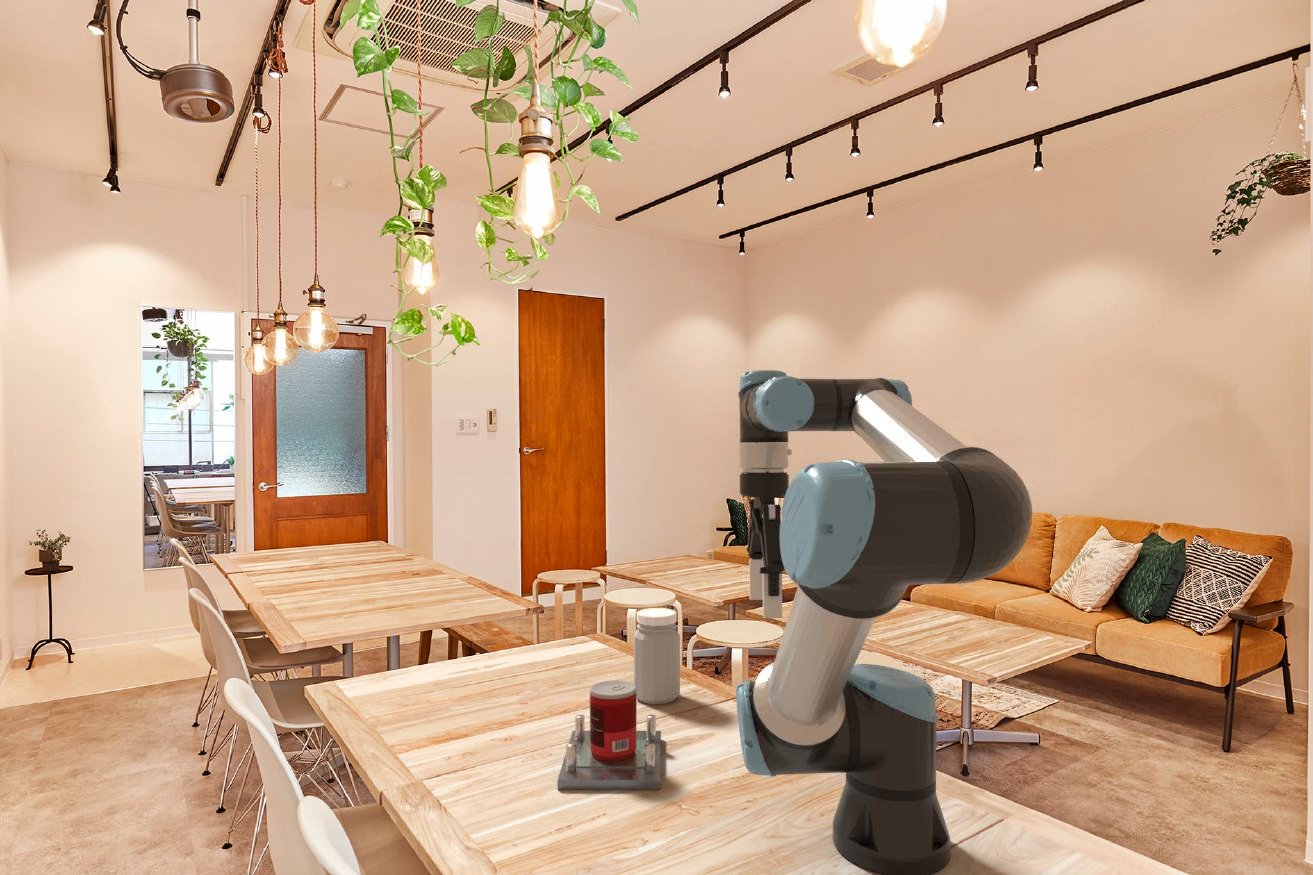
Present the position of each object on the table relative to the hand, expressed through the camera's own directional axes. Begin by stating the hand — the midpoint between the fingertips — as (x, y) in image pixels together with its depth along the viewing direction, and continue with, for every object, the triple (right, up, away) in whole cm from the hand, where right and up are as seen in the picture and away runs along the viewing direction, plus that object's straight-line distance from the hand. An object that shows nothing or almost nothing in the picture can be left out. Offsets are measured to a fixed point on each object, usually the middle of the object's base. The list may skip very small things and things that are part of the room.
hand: (764, 608), depth 120 cm
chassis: (-24, -28, +11) cm, 39 cm away
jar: (-17, -28, +43) cm, 54 cm away
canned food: (-24, -27, +11) cm, 38 cm away
